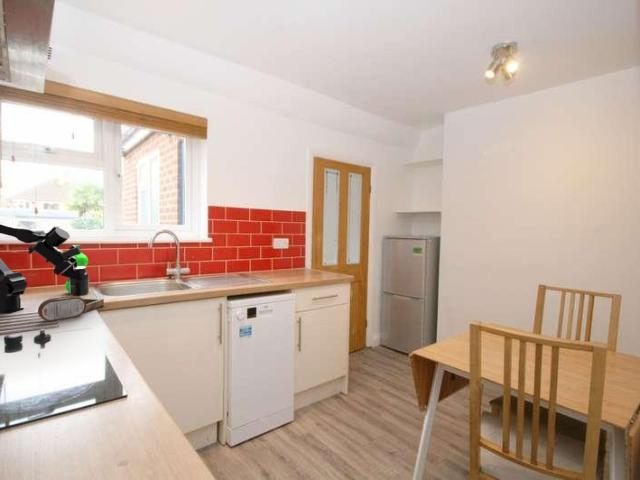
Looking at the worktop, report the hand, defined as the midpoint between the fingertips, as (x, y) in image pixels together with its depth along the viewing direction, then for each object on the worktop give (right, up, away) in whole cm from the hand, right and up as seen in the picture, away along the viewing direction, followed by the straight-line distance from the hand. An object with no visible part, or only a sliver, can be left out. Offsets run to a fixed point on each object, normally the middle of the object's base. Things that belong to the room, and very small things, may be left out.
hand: (83, 278), depth 145 cm
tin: (+2, -14, -14) cm, 20 cm away
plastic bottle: (-25, -11, +30) cm, 41 cm away
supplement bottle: (-2, -7, 0) cm, 7 cm away
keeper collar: (-1, -13, 0) cm, 13 cm away
